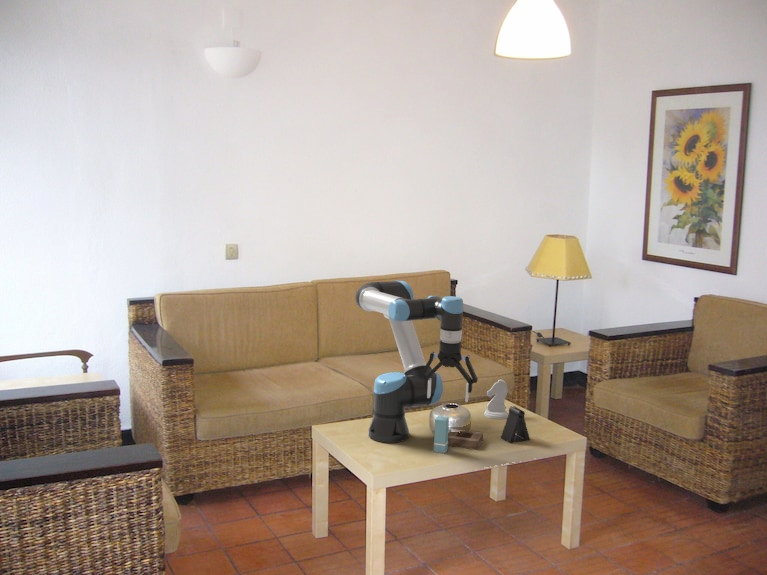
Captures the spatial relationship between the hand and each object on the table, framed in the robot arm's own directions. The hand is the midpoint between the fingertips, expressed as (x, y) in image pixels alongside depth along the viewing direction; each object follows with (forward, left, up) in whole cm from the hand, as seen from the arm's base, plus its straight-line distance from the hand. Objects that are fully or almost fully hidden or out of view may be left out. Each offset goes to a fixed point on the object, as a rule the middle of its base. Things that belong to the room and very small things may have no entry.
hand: (447, 399), depth 278 cm
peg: (-1, -2, -19) cm, 19 cm away
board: (+5, +9, -19) cm, 21 cm away
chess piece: (+10, +45, -19) cm, 50 cm away
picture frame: (+22, +20, -19) cm, 35 cm away
